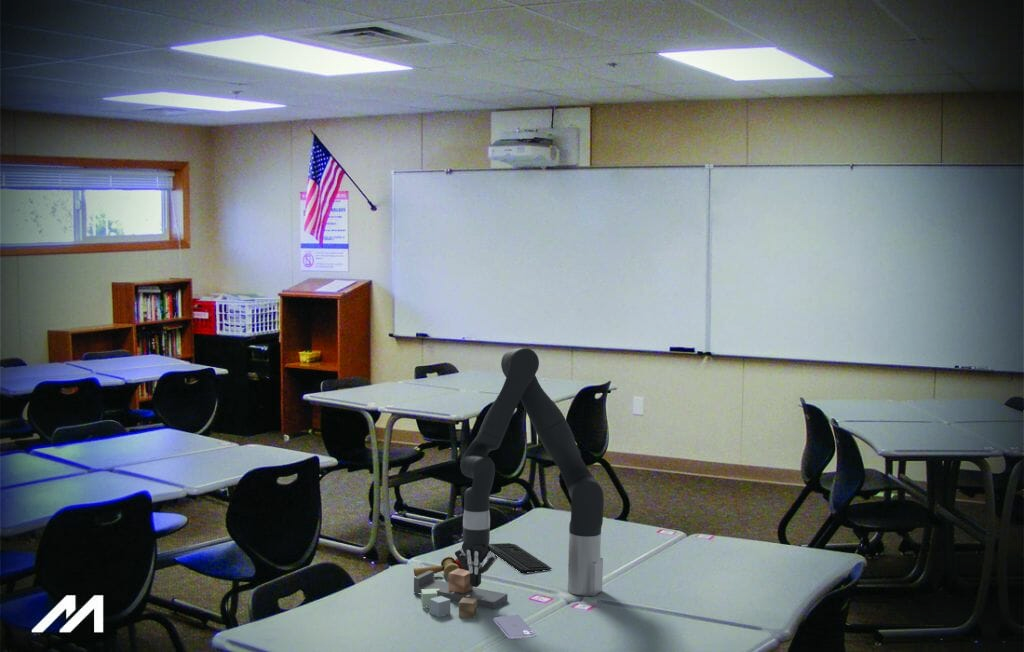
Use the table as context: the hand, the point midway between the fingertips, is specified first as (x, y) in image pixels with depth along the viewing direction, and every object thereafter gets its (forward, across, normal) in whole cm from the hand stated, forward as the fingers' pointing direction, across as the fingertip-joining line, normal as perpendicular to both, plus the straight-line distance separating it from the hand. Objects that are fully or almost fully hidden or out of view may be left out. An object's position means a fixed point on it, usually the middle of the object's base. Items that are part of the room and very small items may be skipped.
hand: (475, 586), depth 277 cm
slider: (+2, +5, 0) cm, 5 cm away
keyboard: (+5, +8, -42) cm, 43 cm away
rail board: (+4, +5, 0) cm, 6 cm away
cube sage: (+4, +9, +10) cm, 14 cm away
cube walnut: (+4, -4, +11) cm, 12 cm away
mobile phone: (+5, -19, +13) cm, 23 cm away
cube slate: (+4, +3, +14) cm, 15 cm away
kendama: (+4, +19, -14) cm, 24 cm away
